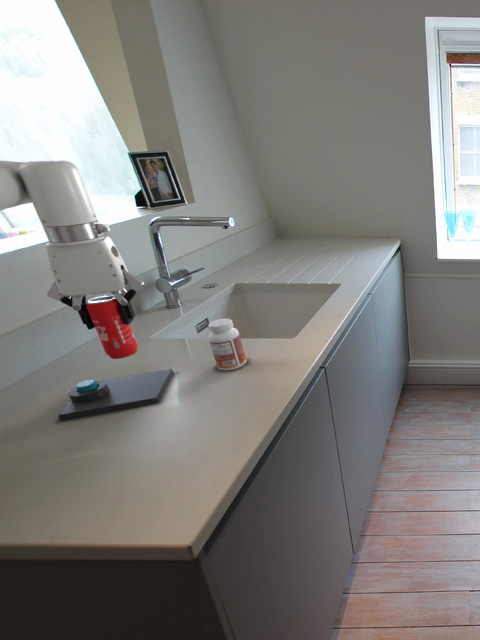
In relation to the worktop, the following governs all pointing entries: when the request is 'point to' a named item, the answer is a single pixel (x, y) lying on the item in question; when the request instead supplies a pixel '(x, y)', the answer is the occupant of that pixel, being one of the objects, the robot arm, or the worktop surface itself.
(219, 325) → the pill bottle
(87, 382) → the tare button
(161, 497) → the worktop surface
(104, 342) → the beverage can
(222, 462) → the worktop surface
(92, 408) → the scale
